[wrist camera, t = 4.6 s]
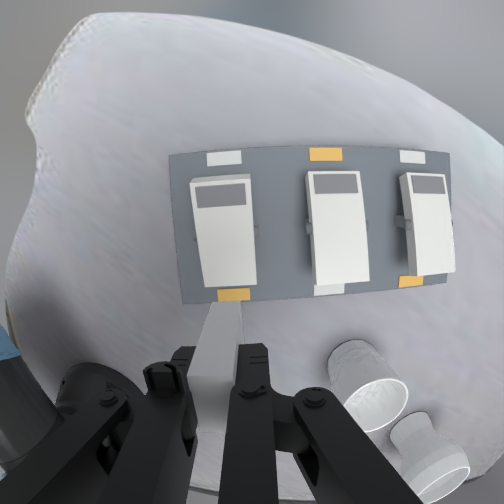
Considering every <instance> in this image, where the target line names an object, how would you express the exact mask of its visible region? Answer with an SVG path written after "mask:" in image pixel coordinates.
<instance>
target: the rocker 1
mask: <svg viewBox="0 0 504 504" xmlns="http://www.w3.org/2000/svg"><path fill="white" fill-rule="evenodd" d="M189 184H190V192H191V199H192V207H193V214H194V221H195V228H196V230H193V240H194V241H197V242H198V248H199V255H200V261H201V267H202V273H203V279H204V285H205V287H221V286H241V285H257V278H256V260H255V244H254V237H259V226H253V211H252V195H251V179H250V174H236V175H222V176H210V177H198V178H193V179H192V180H191V182H190V183H189Z"/></svg>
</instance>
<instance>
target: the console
mask: <svg viewBox="0 0 504 504" xmlns="http://www.w3.org/2000/svg"><path fill="white" fill-rule="evenodd" d="M169 170H170V185H171V199H172V211H173V222H174V233H175V243H176V252H177V261H178V269H179V277H180V285H181V293H182V300H183V304H200V303H212V302H226V301H241V302H246V301H264V300H280V299H294V298H308V297H321V296H332V295H344V294H354V293H364V292H374V291H384V290H393V289H401V288H410V287H418V286H426V285H434V284H441V283H446V281H447V273H442V274H433V275H424V276H409V266H408V250H407V237H406V230H405V229H404V226H403V222H404V220H405V217H404V209H403V201H402V193H401V186H400V180H399V177H400V176H402V175H403V174H405V173H406V172H411V173H430V174H445V180H446V186H447V192H448V198H449V205H450V213H451V172H450V155H449V153H446V152H437V151H427V150H415V149H403V148H387V147H366V146H277V147H255V148H239V149H226V150H214V151H203V152H193V153H184V154H176V155H169ZM308 171H359V172H360V179H361V186H362V194H363V203H364V212H365V221H368V223H369V230H368V231H366V233H367V245H368V259H369V278H370V281H365V282H354V283H342V284H330V285H314V284H313V274H312V257H311V242H310V234H306V229H305V225H306V223H309V215H308V204H307V193H306V182H305V176H306V174H307V172H308ZM236 174H250V179H251V195H252V211H253V226H259V237H254V244H255V260H256V278H257V285H241V286H221V287H205V285H204V279H203V273H202V267H201V261H200V255H199V248H198V242H197V241H194V240H193V230H196V228H195V221H194V214H193V207H192V199H191V192H190V184H189V183H190V182H191V180H192V179H193V178H198V177H210V176H222V175H236Z"/></svg>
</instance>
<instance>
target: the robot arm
mask: <svg viewBox="0 0 504 504" xmlns="http://www.w3.org/2000/svg"><path fill="white" fill-rule="evenodd" d="M20 355H21V352H20V351H19V350H17V349H16V347H15V345H14V344H13V342H12V341H11V339H10V337H9V336H8V334H7V332H6V331H5V329H4V328H3V327H2V326H1V325H0V466H1V467H2V468H3V469H4V471H5V474H3V475H2V480H1V481H0V504H186V499H187V494H188V489H189V484H190V479H191V474H192V468H193V463H194V458H195V453H196V448H197V443H198V440H197V435H196V428H197V423H198V427H199V431H200V432H220V433H226V435H225V444H224V453H223V462H222V471H221V480H220V489H219V499H218V504H279V500H278V484H277V469H276V454H275V450H278V451H283V452H290V453H293V457H294V459H295V461H296V463H297V465H298V467H299V469H300V471H301V472H302V474H303V476H304V478H305V480H306V482H307V484H308V486H309V488H310V490H311V492H312V494H313V496H314V498H315V500H316V502H317V503H318V504H424V503H423V502H422V501H421V500H420V498H419V497H418V496H417V495H416V494H415V493H414V491H413V490H412V489H411V488H410V487H409V485H408V484H407V483H406V482H405V481H404V480H403V478H402V477H401V476H400V475H399V474H398V472H397V471H396V470H395V469H394V468H393V466H392V465H391V464H390V463H389V462H388V460H387V459H386V458H385V457H384V455H383V454H382V453H381V452H380V451H379V449H378V448H377V447H376V446H375V445H374V443H373V442H372V441H371V440H370V438H369V437H368V436H367V435H366V434H365V432H364V431H363V430H362V429H361V427H360V426H359V425H358V424H357V422H356V421H355V420H354V419H353V417H352V416H351V415H350V414H349V412H348V411H347V410H346V409H345V407H344V406H343V405H342V404H341V402H340V401H339V400H338V399H337V397H336V396H335V395H334V394H333V393H332V392H331V391H329V390H327V389H324V388H320V387H311V388H306V389H303V390H301V391H299V392H298V393H297V394H296V395H295V397H292V396H286V395H282V394H279V393H277V392H276V391H274V390H273V389H272V387H271V385H270V374H269V362H268V349H267V348H266V347H265V346H264V345H263V344H262V343H257V344H245V342H244V331H243V320H242V308H241V301H226V302H212V303H211V306H210V309H209V312H208V315H207V318H206V320H205V323H204V326H203V329H202V332H201V335H200V338H199V341H198V344H197V346H181V347H180V348H179V349H178V350H177V351H175V352H174V354H173V356H172V358H171V361H170V362H167V361H165V362H157V363H153V364H151V365H149V366H147V367H146V368H145V369H144V370H143V374H144V377H145V381H146V384H147V388H148V392H147V394H146V395H145V396H144V395H143V394H142V393H141V391H140V390H139V389H138V388H137V387H136V386H135V385H134V384H133V383H132V382H131V381H129V380H128V379H127V378H126V377H124V376H123V375H121V374H120V373H118V372H116V371H114V370H112V369H110V368H108V367H105V366H102V365H99V364H93V363H83V364H79V365H76V366H74V367H73V368H72V369H71V370H70V371H69V372H68V373H67V374H66V375H65V377H64V378H63V380H62V382H61V385H60V391H59V393H58V396H57V399H56V403H55V405H54V404H53V403H52V401H51V400H50V399H49V397H48V396H47V395H46V393H45V392H44V390H43V389H42V388H41V386H40V385H39V383H38V382H37V380H36V379H35V377H34V376H33V374H32V373H31V371H30V370H29V368H28V367H27V365H26V364H25V362H24V360H23V359H22V357H21V356H20Z"/></svg>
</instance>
